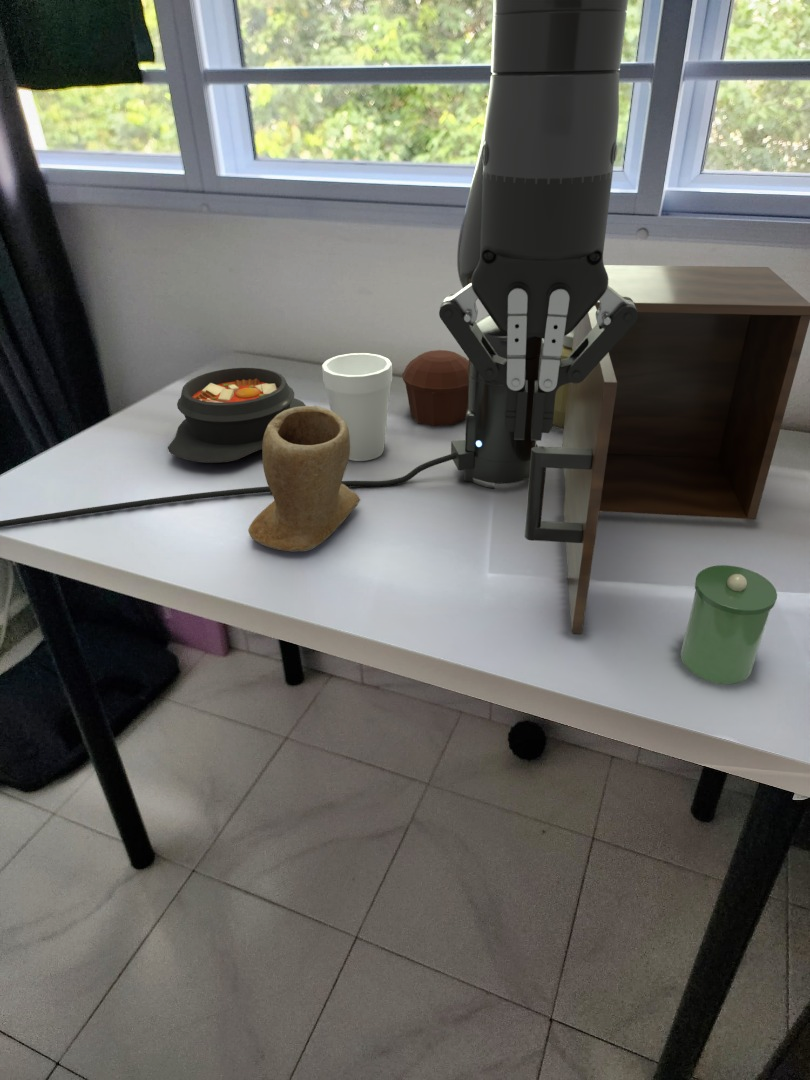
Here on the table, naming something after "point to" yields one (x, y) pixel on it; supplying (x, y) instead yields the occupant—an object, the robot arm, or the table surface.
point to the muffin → (437, 387)
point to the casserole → (229, 413)
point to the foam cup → (360, 399)
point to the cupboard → (697, 388)
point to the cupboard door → (577, 479)
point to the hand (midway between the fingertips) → (527, 435)
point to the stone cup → (304, 479)
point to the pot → (726, 623)
